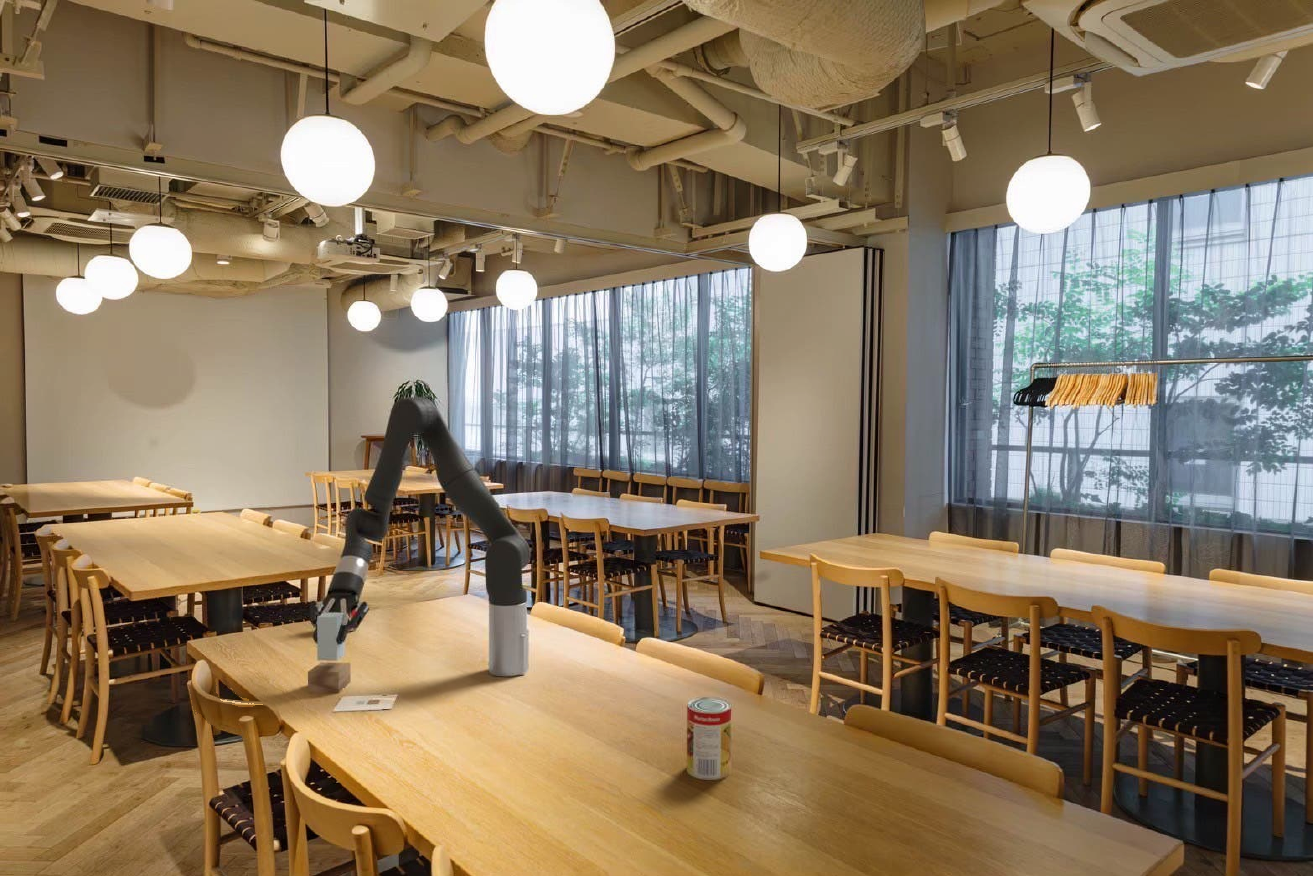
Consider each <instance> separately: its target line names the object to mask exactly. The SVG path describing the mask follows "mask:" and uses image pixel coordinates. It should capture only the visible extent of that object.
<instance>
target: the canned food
mask: <svg viewBox="0 0 1313 876" xmlns="http://www.w3.org/2000/svg"><path fill="white" fill-rule="evenodd" d="M686 704H687V705H686V771H687V773H688V774H689V775H690V776H691V777H693V778H695V779H699V780H706V781H707V780H708V781H715V780H721V779H723V778H726V777H728V776H729V775H730V774H731V770H732V769H731V764H732V760H731V759H732V758H731V757H732V755H731V754H732V752H731V751H732V750H731V749H732V747H731V746H732V704H731V702H730V701H728V700H727V699H723V698H721V697H715V696H714V697H713V696H702V697H700V696H699V697H696V698H692V699H690V700H689V701H688V702H687V703H686Z"/></svg>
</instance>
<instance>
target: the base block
mask: <svg viewBox="0 0 1313 876" xmlns="http://www.w3.org/2000/svg"><path fill="white" fill-rule="evenodd" d="M351 675H352V674H351V662H319V663H318V664H316V665H315V666H314V667H313V668H311V669H310V670H309V671H307V693H308V694H340V693H341V692H342V691H343V690H344V689H346V688H347V687H348V686H349V685H350V684H351V678H352V677H351ZM349 683H350V684H349ZM348 684H349V685H348ZM347 685H348V686H347ZM346 686H347V687H346ZM343 688H344V689H343ZM342 689H343V690H342ZM340 691H341V692H340Z"/></svg>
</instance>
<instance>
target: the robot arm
mask: <svg viewBox="0 0 1313 876" xmlns="http://www.w3.org/2000/svg"><path fill="white" fill-rule="evenodd" d="M415 435H417V436H419V438H420V439H421V440H422V442H423V443H424V444H425V446H426V448H427V449H428V450H429V452H430V454H431V457H432V460H433V465H434V469H435V474H436V476H437V477H436V478H437V481H438V483H439V485H440V487H441V489H442V490H443V491H444V494H446V496H447V498H448V499H449V501H450V502H451V504H452V505H453V506H454V507H455V508H456V510H458V511H459V512H460V513H461V514H462V515H464V516H465V517H466V518H467V519H468V520H470V521H471V522H472V523H473V524H474V525H475V526H476V527H477V528H479V529H480V531H481V532H482V533H483V535H484V536H485V538H486V539H487V541H488V543H489V546H488V547H487V548H486V552H485V559H484V560H485V561H484V567H485V568H484V574H485V589H486V593H487V595H488V672H489V674H491V675H493V676H496V677H514V676H515V677H516V676H522V675H525V673H526V672H527V670H528V669H529V665H530V664H529V661H530V660H529V659H530V658H529V652H530V651H529V650H530V647H529V646H530V643H529V639H530V638H529V637H530V635H529V634H530V631H529V629H527V628H528V627H527V626H528V625H527V624H528V623H527V621H528V614H527V611H528V609H527V607H528V592H527V589H525V587H524V586H523V569H524V568H526V567H527V566H528V564H529V562H530V560H531V557H532V556H531V555H532V553H531V549H530V548H531V547H530V546H529V542H527V540H526V539H525V537H524V536H523V535H522V534H521V533H520V532H519V531H518V529H517V528H516V526H514V524H513V523H512V522H511V521H510V520H509V519H508V517H507V516H506V514H505V513H504V512H503V509H501V507H500V505H499V503H498V502H497V501H496V499H495V498H494V496H493V495H492V493H491V491H490V490H489V488H488V486H486V484H485V482H484V481H483V478H482V477H481V476H480V475H479V473H478V471H477V469H476V468H475V467H474V465H473V464H472V463H471V462H470V460H469V459H468V457H467V456H466V454H465V453H464V451H463V450H462V449H461V447H460V445H459V444H458V443H457V441H456V439H455V438H454V436H453V435H452V433H451V431H450V429H449V428H448V426H447V423H446V422H445V420H444V418H443V416H442V414H441V413H440V410H439V409H438V408H437V406H436V405H435V403H434V402H433V401H432V400H430V399H429V398H427V397H423V396H412V397H411V396H410V397H404V398H401V399H399V400H397V401H396V402H395V403H394V405H393V407H391V411H390V414H389V417H388V422H387V427H386V431H385V435H384V439H383V441H382V442H383V443H382V447H381V451H380V454H379V457H378V461H377V464H376V466H375V468H374V471H373V474H372V476H371V477H370V478H371V479H370V481H369V483H368V485H367V488H366V490H365V493H364V496H363V498H364V501H365V502H366V503H367V504H368V505H370V506H371V507H372V508H374V509H376V510H377V511H378V513H377V512H374V511H371V510H368V509H366V508H362V507H355V508H353V509H351V510H350V511H349V512H348V513H347V516H346V519H345V523H344V525H345V526H344V529H345V531H344V532H345V538H344V539H345V541H344V547H343V549H342V553H341V555H340V558H339V561H338V563H337V564H336V567H335V569H334V572H333V574H332V578H331V580H330V583H329V586H328V589H327V592H326V596H325V597H324V598H323V599H322V601H321V600H320V601H316V600H311V601H310V603H309V622H310V625H312V627H313V628H315V629H314V632H313V635H312V639H313V641H314V643H315V644H316V645H317V641H318V637H317V617H318V616H320V615H322V614H323V613H328V612H341V613H343V619H342V626H340V629H339V632H338V635H337V638H336V642H337V643H338V644H342V642H344V641H345V642H346V639H347V636H348V633H349V632H348V630H350V629H351V628H357V629H358V628H359V626H360V625H361V623H362V622H363V620H364V618H365V617H366V615H367V614H368V612H369V611H370V607H369V604H368V603H367V601H362V602H361V601H360V598H361V595H362V593H363V589H364V587H365V582H367V581H366V580H367V576H368V573H369V571H368V570H369V567H370V563H371V561H372V558H373V554H374V546H373V545H372V543H370V542H369V541H371V542H376V543H377V542H380V541H382V540H383V539H385V537H386V536H387V534H388V533H389V532H388V531H389V524H390V523H389V522H390V513H391V510H392V505H393V502H394V499H395V497H396V494H397V492H398V490H399V488H400V485H401V482H402V480H403V471H404V458H405V454H406V450H407V449H408V447H409V444H410V442H411V440H412V439H413V438H414V436H415ZM367 540H368V541H367ZM322 608H324V609H323V611H321V610H322ZM356 608H357V611H356V613H355V614H354V616H353V617H352V619H351V616H350V613H352V612H353V611H354V610H355V609H356ZM319 612H321V614H320V613H319ZM319 614H320V615H319Z"/></svg>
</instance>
